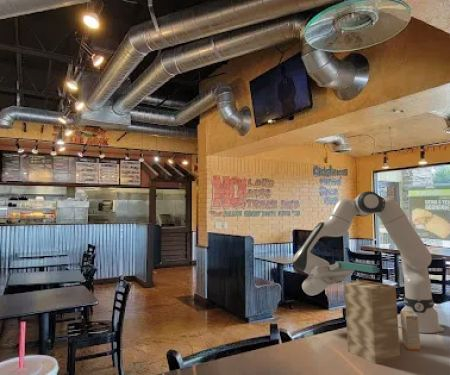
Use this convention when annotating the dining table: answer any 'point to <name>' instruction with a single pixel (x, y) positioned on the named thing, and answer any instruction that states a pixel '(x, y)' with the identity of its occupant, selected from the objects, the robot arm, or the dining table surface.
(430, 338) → the dining table surface
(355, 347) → the birch post
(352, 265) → the teal bar
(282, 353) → the dining table surface
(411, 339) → the supplement box
